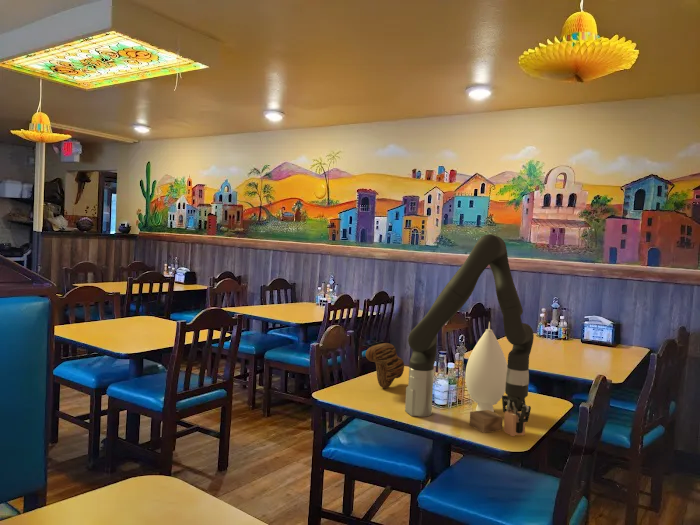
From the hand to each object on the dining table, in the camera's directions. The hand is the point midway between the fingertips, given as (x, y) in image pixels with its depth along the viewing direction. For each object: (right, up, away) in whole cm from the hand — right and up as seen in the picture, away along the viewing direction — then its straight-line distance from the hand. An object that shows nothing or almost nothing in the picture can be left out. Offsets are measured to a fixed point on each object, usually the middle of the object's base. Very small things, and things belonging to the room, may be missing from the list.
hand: (514, 429), depth 190 cm
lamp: (-4, 0, +24) cm, 24 cm away
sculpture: (-42, +3, +49) cm, 65 cm away
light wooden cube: (0, -1, 0) cm, 1 cm away
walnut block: (-9, -1, +5) cm, 10 cm away
